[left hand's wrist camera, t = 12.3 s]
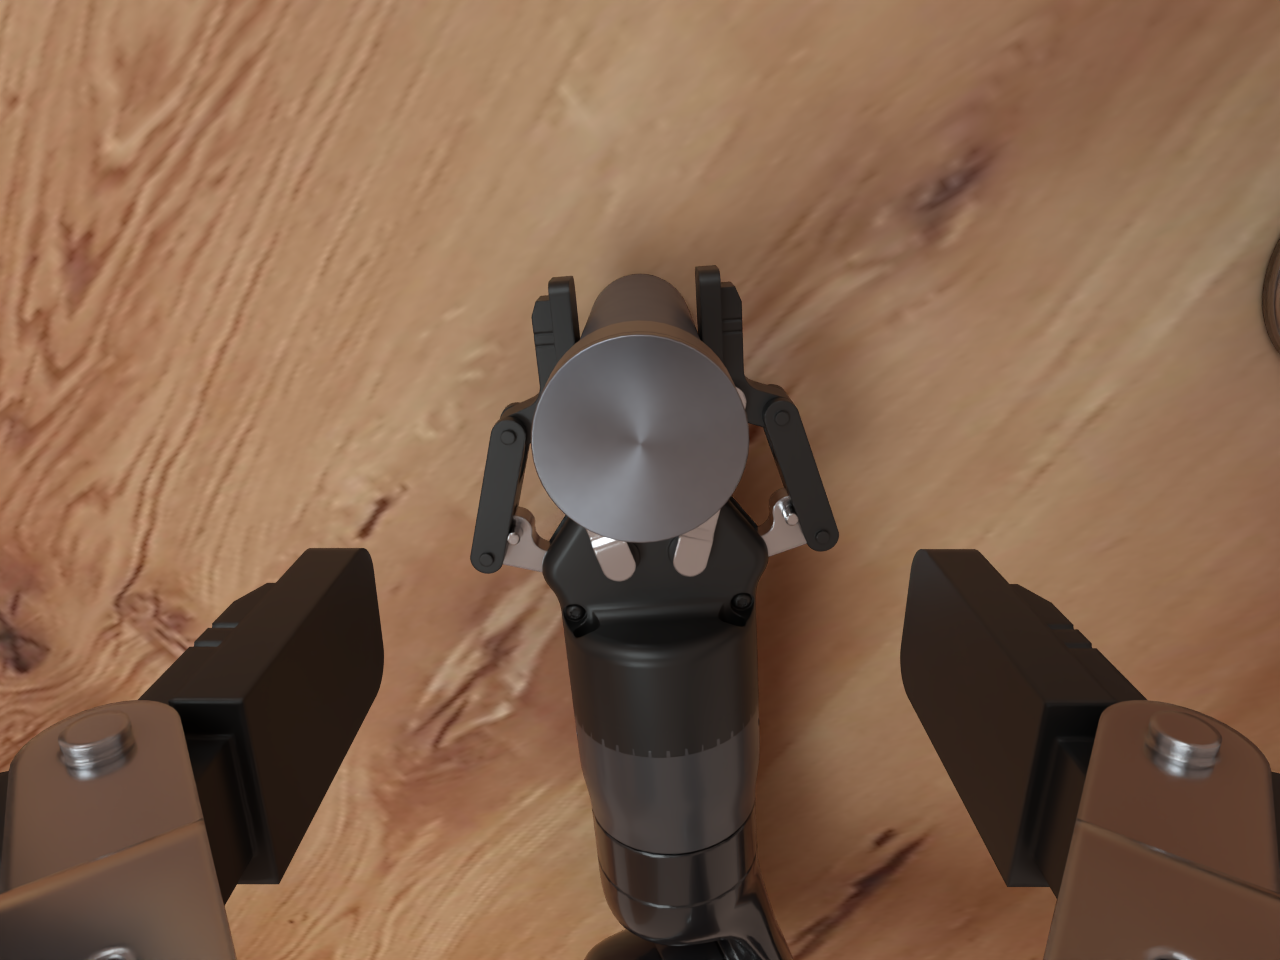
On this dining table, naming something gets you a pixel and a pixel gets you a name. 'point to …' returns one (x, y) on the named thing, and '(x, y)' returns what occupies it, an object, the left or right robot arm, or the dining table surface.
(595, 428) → the lid
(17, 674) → the dining table surface
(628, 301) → the cylindrical container
